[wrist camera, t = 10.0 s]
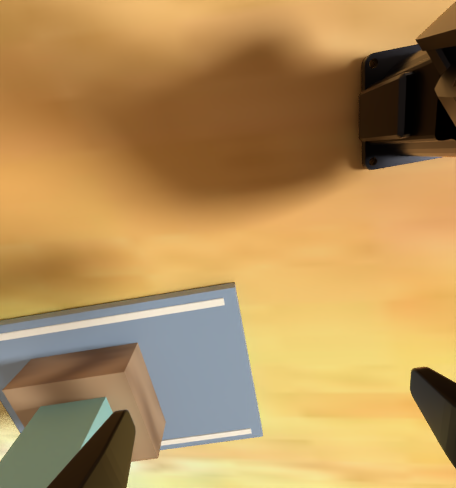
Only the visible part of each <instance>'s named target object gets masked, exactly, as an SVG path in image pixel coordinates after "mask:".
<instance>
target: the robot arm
mask: <svg viewBox="0 0 456 488" xmlns="http://www.w3.org/2000/svg"><path fill="white" fill-rule="evenodd" d="M416 41H417V43H418V44H417V45H412V46H407V47H402V48H397V49H392V50H387V51H382V52H377V53H373V54H370V55H369V56H367V57H366V58H365V59H364V61H363V62H362V67H361V73H362V92H361V94H360V95H359V139H360V140H361V141H362V164H363V167H364V168H366V169H369V170H374V169H380V168H385V167H391V166H396V165H402V164H407V163H413V162H419V161H424V160H430V159H435V158H441V157H456V2H455V3H454V4H453V5H452V6H450V7H449V8H448V9H447V10H446V11H445V12H444V13H443V14H442V15H441V16H440V17H439V18H438V19H437V20H436V21H434V22H433V23H432V24H431V25H430V26H429V27H428V28H427V29H426V30H425V31H424V32H423V33H422V34H421V35H420V36H419V37H418V38H417V39H416ZM370 60H372V61H373V62H374V68H371V67H370V66H369V62H370ZM371 158H373V159H374V162H373V164H372V165H370V164H369V161H370V159H371ZM410 391H411V394H412V396H413V398H414V400H415V402H416V403H417V405H418V407H419V409H420V410H421V412H422V414H423V416H424V417H425V419H426V421H427V423H428V424H429V426H430V428H431V430H432V431H433V433H434V435H435V437H436V438H437V440H438V442H439V444H440V445H441V447H442V449H443V450H444V452H445V454H446V455H447V457H448V458H449V460H450V461H451V463H452V464H453V466H454V467H455V468H456V383H455V382H453V381H452V380H450V379H448V378H446V377H444V376H443V375H441V374H439V373H437V372H436V371H434V370H432V369H430V368H428V367H419V368H413V369H412V370H411V380H410ZM135 435H136V428H135V425H134V422H133V420H132V417H131V415H130V413H129V411H128V410H126V409H125V410H118V411H115V412H113V413H112V414H111V415H110V417H109V418H108V419H107V420H106V421H105V422H104V423H103V424H102V426H101V427H100V428H99V429H98V430H97V431H96V432H95V433H94V435H93V436H92V437H91V438H90V439H89V440H88V441H87V442H86V444H85V445H84V446H83V447H82V448H81V449H80V450H79V452H78V453H77V454H76V455H75V456H74V457H73V458H72V459H71V461H70V462H69V463H68V464H67V465H66V466H65V467H64V468H63V470H62V471H61V472H60V473H59V474H58V475H57V476H56V477H55V479H54V480H53V481H52V482H51V483H50V484H49V485H48V486H47V488H126V487H127V482H128V476H129V470H130V464H131V459H132V453H133V447H134V441H135Z"/></svg>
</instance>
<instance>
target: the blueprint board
mask: <svg viewBox="0 0 456 488" xmlns="http://www.w3.org/2000/svg"><path fill="white" fill-rule="evenodd" d="M132 343H138V345H139V347H140V350H141V353H142V356H143V359H144V362H145V364H146V367H147V370H148V373H149V376H150V379H151V381H152V384H153V387H154V390H155V393H156V396H157V398H158V401H159V404H160V407H161V410H162V413H163V415H164V418H165V421H166V424H165V428H164V433H163V438H162V442H161V447H160V450H164V449H172V448H179V447H187V446H194V445H202V444H209V443H216V442H224V441H231V440H239V439H246V438H254V437H261V436H263V432H262V426H261V420H260V415H259V410H258V404H257V399H256V394H255V388H254V383H253V378H252V372H251V367H250V362H249V356H248V351H247V346H246V340H245V335H244V330H243V325H242V319H241V314H240V309H239V303H238V298H237V293H236V287H235V282H234V283H228V284H222V285H215V286H209V287H203V288H197V289H191V290H185V291H179V292H173V293H166V294H160V295H154V296H148V297H142V298H136V299H130V300H124V301H118V302H111V303H105V304H99V305H93V306H87V307H81V308H75V309H69V310H62V311H56V312H50V313H44V314H38V315H32V316H26V317H20V318H13V319H7V320H1V321H0V401H1V402H2V404H3V406H4V407H5V409H6V410H7V412H8V414H9V415H10V417H11V419H12V420H13V422H14V423H15V425H16V427H17V428H18V430H19V431H20V433H21V432H22V431H23V430H24V426H23V424H22V423H21V421H20V419H19V418H18V416H17V414H16V413H15V411H14V409H13V408H12V406H11V404H10V403H9V401H8V399H7V398H6V396H5V394H4V393H3V391H2V390H3V389H4V388H5V387H6V386H7V384H8V383H9V382H10V381H11V380H12V379H13V378H14V377H15V376H16V375H17V374H18V373H19V372H20V371H21V370H22V368H23V367H24V366H25V365H26V364H27V363H28V362H29V361H30V360H31V359H35V358H41V357H48V356H54V355H61V354H67V353H74V352H80V351H86V350H93V349H99V348H106V347H112V346H119V345H125V344H132Z"/></svg>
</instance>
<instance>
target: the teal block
mask: <svg viewBox="0 0 456 488" xmlns="http://www.w3.org/2000/svg"><path fill="white" fill-rule="evenodd" d="M112 413H113V412H112V409H111V407H110V405H109V403H108V400H107V398H106V397H101V398H94V399H87V400H81V401H74V402H68V403H61V404H54V405H48V406H41V407H40V408H39V409H38V410H37V412H36V413H35V414H34V416H33V417H32V419H31V420H30V421H29V423H28V424H27V425H26V427H25V428H24V430H23V431H22V432H21V434H20V435H19V436H18V438H17V439H16V441H15V442H14V443H13V445H12V446H11V447H10V449H9V450H8V452H7V453H6V454H5V456H4V457H3V458H2V460H1V461H0V488H47V486H48V485H49V484H50V483H51V482H52V481H53V480H54V479H55V477H56V476H57V475H58V474H59V473H60V472H61V471H62V470H63V468H64V467H65V466H66V465H67V464H68V463H69V462H70V461H71V459H72V458H73V457H74V456H75V455H76V454H77V453H78V452H79V450H80V449H81V448H82V447H83V446H84V445H85V444H86V442H87V441H88V440H89V439H90V438H91V437H92V436H93V435H94V433H95V432H96V431H97V430H98V429H99V428H100V427H101V426H102V424H103V423H104V422H105V421H106V420H107V419H108V418H109V417H110V415H111V414H112Z"/></svg>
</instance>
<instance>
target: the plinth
mask: <svg viewBox="0 0 456 488" xmlns="http://www.w3.org/2000/svg"><path fill="white" fill-rule="evenodd" d="M2 391H3V393H4V394H5V396H6V398H7V399H8V401H9V403H10V404H11V406H12V408H13V409H14V411H15V413H16V414H17V416H18V418H19V419H20V421H21V423H22V424H23V426H24V428H25V427H26V425H27V424H28V423H29V421H30V420H31V419H32V417H33V416H34V414H35V413H36V412H37V410H38V409H39V408H40V407H41V406H48V405H54V404H61V403H68V402H74V401H81V400H87V399H94V398H101V397H106V398H107V400H108V403H109V405H110V407H111V409H112V412H115V411H118V410H125V409H126V410H128V411H129V413H130V415H131V417H132V420H133V422H134V425H135V428H136V435H135V441H134V447H133V453H132V459H131V462H133V461H140V460H148V459H155V458H158V456H159V451H160V447H161V442H162V438H163V433H164V428H165V424H166V421H165V418H164V415H163V413H162V410H161V407H160V404H159V401H158V398H157V396H156V393H155V390H154V387H153V384H152V381H151V379H150V376H149V373H148V370H147V367H146V364H145V362H144V359H143V356H142V353H141V350H140V347H139V345H138V343H132V344H125V345H119V346H112V347H106V348H99V349H93V350H86V351H80V352H74V353H67V354H61V355H54V356H48V357H41V358H35V359H31V360H30V361H29V362H28V363H27V364H26V365H25V366H24V367H23V368H22V370H21V371H20V372H19V373H18V374H17V375H16V376H15V377H14V378H13V379H12V380H11V381H10V382H9V383H8V384H7V386H6V387H5V388H4V389H3V390H2Z"/></svg>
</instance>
